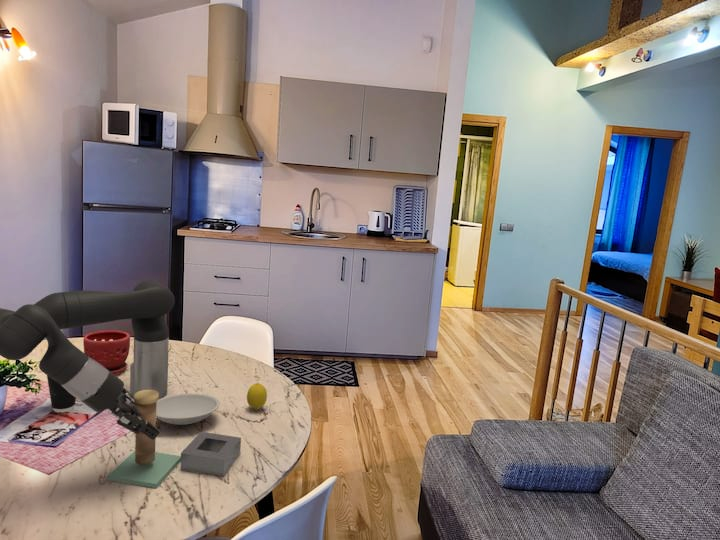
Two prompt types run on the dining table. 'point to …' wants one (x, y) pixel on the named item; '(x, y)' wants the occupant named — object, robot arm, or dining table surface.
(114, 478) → the mat
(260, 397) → the lemon
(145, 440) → the peg
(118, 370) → the plant pot
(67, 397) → the dixie cup
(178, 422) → the dish
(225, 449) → the grey square socket block
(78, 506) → the dining table surface
